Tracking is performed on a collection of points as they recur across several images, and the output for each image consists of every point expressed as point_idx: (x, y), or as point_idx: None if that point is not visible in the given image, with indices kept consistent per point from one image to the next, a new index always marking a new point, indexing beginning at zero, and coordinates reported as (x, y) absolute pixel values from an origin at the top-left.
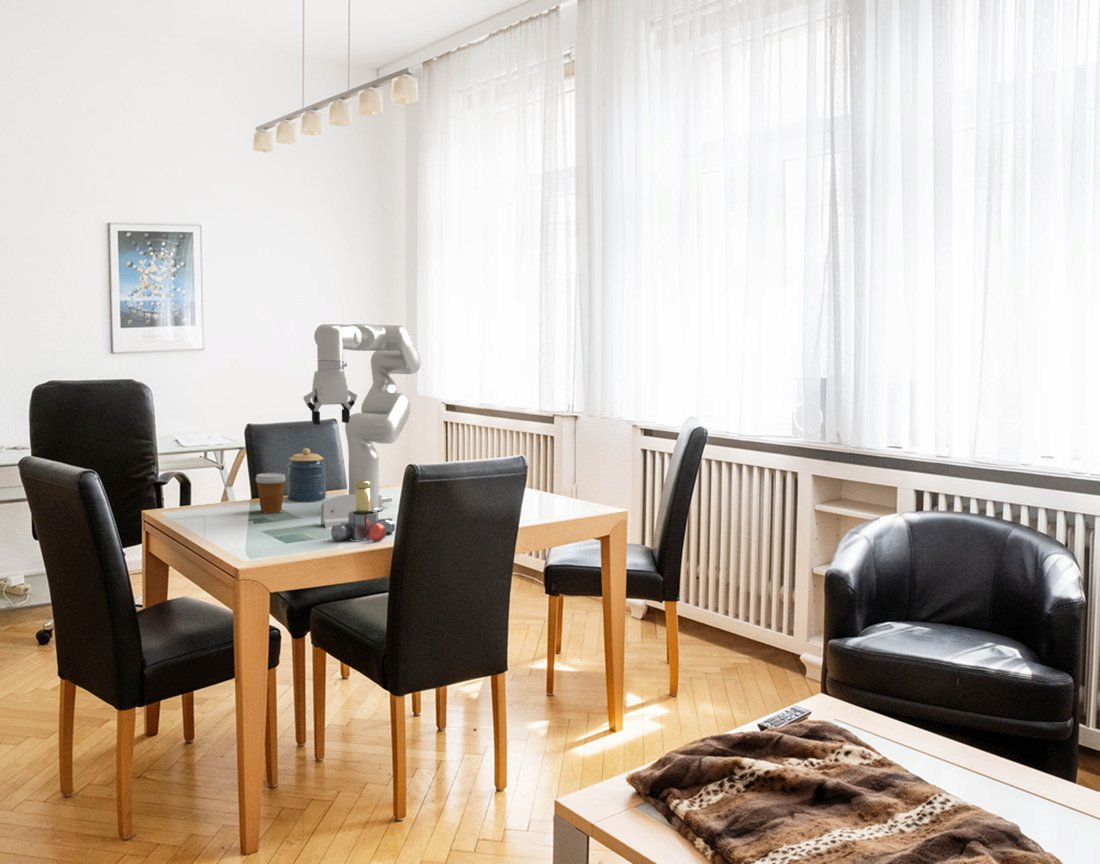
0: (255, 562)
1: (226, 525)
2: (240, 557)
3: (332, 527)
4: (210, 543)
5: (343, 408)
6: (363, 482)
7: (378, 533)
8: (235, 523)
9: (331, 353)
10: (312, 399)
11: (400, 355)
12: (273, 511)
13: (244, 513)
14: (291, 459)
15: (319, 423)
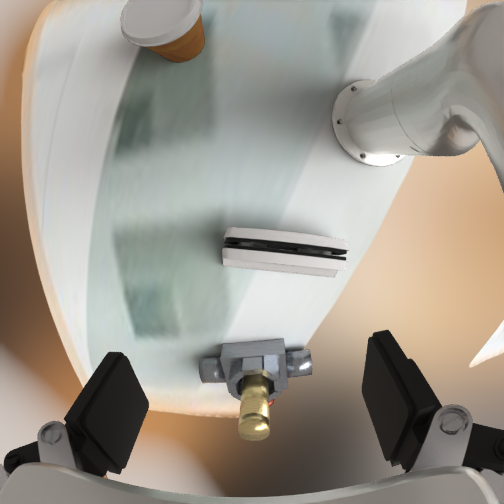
0: None
1: (74, 152)
2: (84, 367)
3: (199, 370)
4: (49, 280)
5: (413, 437)
6: (249, 439)
7: None
8: (89, 138)
9: None
10: (14, 491)
11: None
12: (178, 61)
13: (132, 45)
14: None
15: (144, 410)
